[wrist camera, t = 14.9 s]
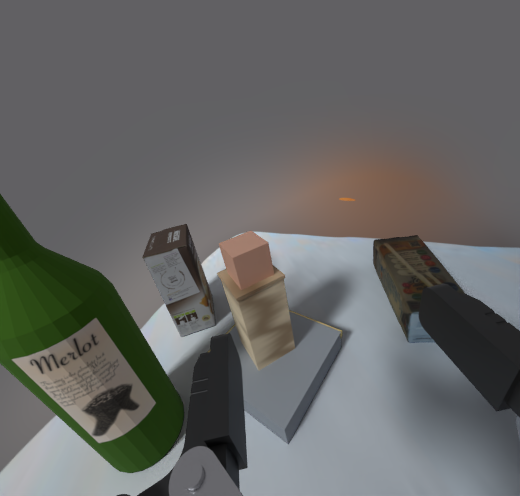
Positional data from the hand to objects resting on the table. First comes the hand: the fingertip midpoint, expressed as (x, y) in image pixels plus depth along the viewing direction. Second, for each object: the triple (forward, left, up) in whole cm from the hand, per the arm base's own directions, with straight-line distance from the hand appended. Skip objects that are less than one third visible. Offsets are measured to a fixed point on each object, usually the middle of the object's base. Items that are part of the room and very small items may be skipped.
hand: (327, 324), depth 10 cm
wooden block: (-9, -14, -20) cm, 26 cm away
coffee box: (-10, -31, -23) cm, 40 cm away
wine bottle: (+6, -21, -23) cm, 32 cm away
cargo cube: (-9, -14, -8) cm, 18 cm away
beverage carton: (-30, -1, -23) cm, 38 cm away
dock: (-9, -13, -23) cm, 28 cm away
